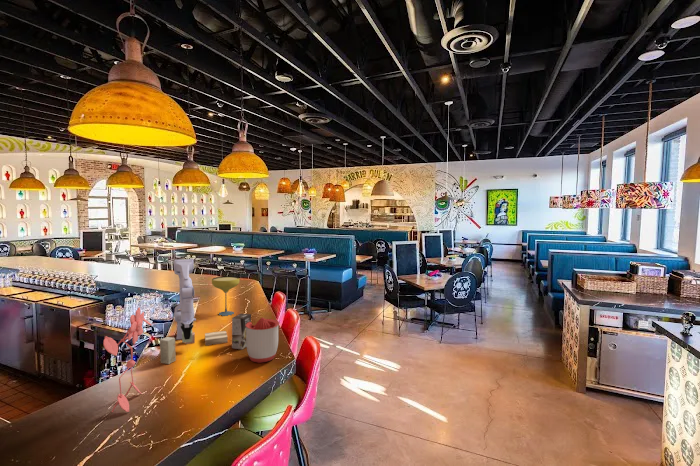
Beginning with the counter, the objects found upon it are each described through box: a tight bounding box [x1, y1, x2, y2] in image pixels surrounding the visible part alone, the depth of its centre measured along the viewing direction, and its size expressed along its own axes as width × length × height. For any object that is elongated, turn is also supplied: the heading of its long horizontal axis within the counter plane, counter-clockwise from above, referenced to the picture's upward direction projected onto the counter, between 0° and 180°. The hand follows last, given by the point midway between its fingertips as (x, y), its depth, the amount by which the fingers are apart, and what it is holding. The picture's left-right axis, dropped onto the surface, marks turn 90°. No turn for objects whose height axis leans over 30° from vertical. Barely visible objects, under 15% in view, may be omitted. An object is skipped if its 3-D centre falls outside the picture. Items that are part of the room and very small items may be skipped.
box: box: [159, 336, 177, 365], centre depth 157 cm, size 5×4×11 cm
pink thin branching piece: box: [103, 307, 153, 413], centre depth 122 cm, size 15×26×35 cm, turn 11°
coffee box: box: [231, 313, 252, 350], centre depth 177 cm, size 9×6×16 cm
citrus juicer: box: [246, 317, 280, 364], centre depth 163 cm, size 16×17×20 cm
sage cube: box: [181, 329, 193, 344], centre depth 170 cm, size 4×4×4 cm
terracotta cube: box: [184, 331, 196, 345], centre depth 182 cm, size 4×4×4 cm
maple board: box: [204, 330, 228, 346], centre depth 184 cm, size 11×11×3 cm
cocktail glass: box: [211, 275, 240, 317], centre depth 234 cm, size 18×18×25 cm
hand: (187, 337), depth 170 cm, fingers closed on sage cube, 4 cm apart
